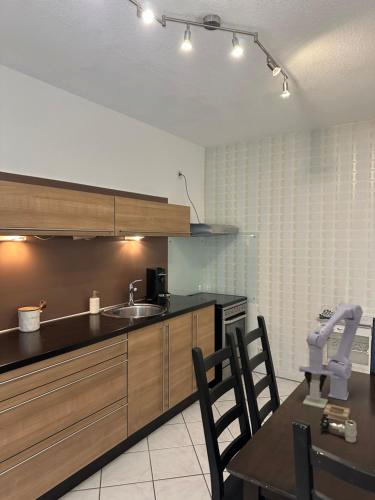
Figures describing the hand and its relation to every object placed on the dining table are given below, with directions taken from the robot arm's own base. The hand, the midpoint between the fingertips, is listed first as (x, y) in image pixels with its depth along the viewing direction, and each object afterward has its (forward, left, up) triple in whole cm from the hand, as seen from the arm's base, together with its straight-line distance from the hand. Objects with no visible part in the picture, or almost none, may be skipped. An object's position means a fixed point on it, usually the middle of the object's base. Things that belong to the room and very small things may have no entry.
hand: (315, 390), depth 158 cm
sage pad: (0, 0, -6) cm, 6 cm away
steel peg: (0, 0, -3) cm, 3 cm away
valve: (+25, +13, -6) cm, 29 cm away
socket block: (+8, +10, -6) cm, 14 cm away
